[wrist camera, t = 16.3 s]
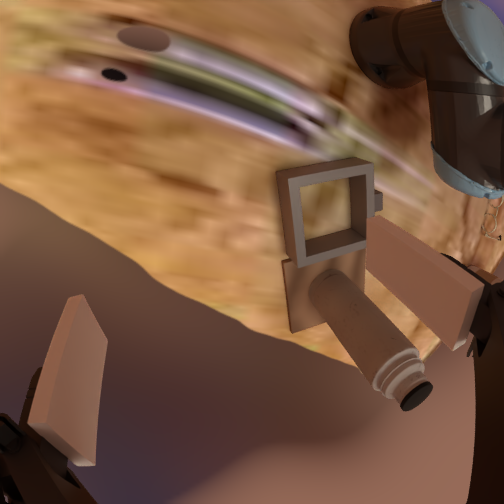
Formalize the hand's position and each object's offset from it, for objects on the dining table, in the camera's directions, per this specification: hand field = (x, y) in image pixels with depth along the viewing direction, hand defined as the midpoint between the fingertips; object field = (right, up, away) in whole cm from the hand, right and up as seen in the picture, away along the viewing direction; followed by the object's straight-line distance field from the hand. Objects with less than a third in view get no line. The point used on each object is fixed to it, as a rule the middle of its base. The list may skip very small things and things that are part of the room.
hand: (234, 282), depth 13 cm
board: (+15, -5, +43) cm, 46 cm away
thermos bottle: (+15, -5, +42) cm, 45 cm away
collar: (+13, +9, +36) cm, 39 cm away
